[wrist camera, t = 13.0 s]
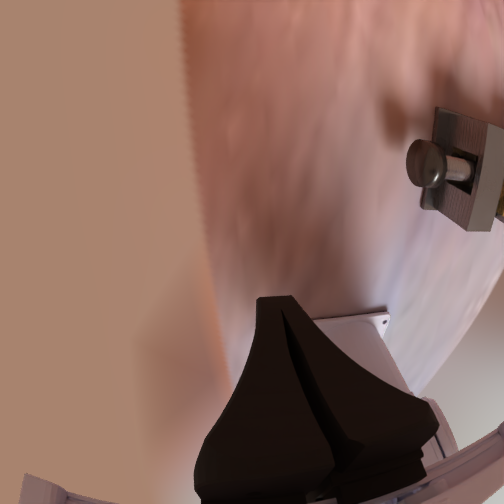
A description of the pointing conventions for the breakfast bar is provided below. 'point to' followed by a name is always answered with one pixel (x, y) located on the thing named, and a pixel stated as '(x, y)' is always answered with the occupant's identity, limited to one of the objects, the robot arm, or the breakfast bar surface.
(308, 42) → the breakfast bar surface
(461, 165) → the shaft
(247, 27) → the breakfast bar surface
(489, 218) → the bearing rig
